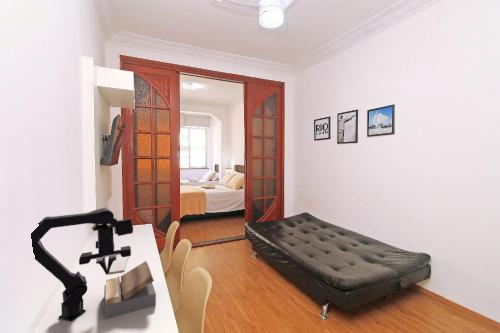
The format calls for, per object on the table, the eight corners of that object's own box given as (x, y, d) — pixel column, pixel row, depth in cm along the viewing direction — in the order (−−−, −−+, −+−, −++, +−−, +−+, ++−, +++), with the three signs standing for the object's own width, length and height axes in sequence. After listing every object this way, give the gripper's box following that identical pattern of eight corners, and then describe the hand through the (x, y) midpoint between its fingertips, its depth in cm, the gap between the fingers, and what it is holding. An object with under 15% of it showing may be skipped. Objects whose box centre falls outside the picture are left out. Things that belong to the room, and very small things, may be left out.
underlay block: (104, 319, 96) (104, 306, 96) (104, 295, 112) (104, 285, 111) (155, 304, 105) (155, 293, 105) (149, 285, 121) (149, 275, 121)
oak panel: (105, 305, 96) (105, 298, 96) (105, 285, 111) (105, 279, 111) (121, 301, 99) (121, 295, 99) (119, 282, 114) (119, 276, 114)
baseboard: (103, 275, 131) (124, 272, 134) (103, 270, 131) (124, 267, 134) (113, 253, 159) (130, 251, 163) (113, 249, 159) (130, 247, 162)
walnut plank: (125, 299, 100) (122, 295, 99) (123, 280, 115) (120, 276, 114) (153, 281, 105) (151, 276, 104) (148, 265, 120) (145, 260, 119)
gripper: (129, 229, 116) (131, 262, 117) (82, 236, 107) (84, 270, 108) (130, 237, 106) (131, 272, 107) (78, 244, 97) (79, 282, 99)
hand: (107, 274), depth 105 cm, fingers closed
